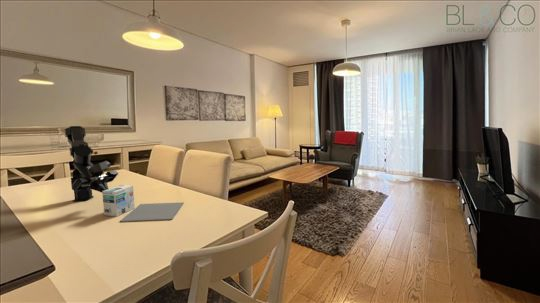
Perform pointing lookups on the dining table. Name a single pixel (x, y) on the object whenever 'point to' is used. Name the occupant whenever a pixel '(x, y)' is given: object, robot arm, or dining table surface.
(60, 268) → the dining table surface
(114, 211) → the light bulb box
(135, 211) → the charcoal mat
